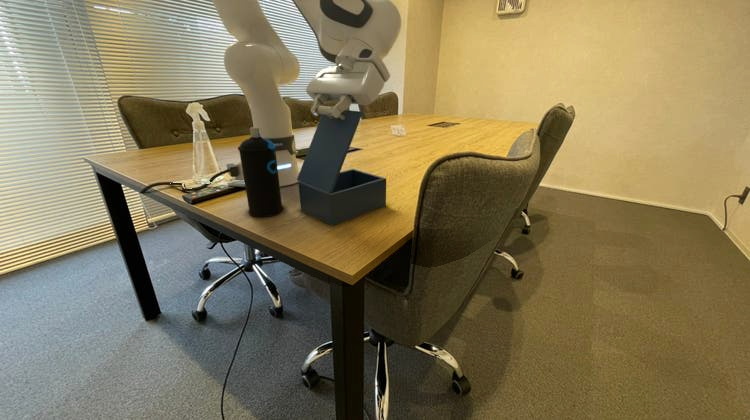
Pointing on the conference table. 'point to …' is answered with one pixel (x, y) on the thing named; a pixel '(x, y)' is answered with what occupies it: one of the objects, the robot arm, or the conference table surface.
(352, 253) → the conference table surface
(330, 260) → the conference table surface
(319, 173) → the lid
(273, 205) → the aerosol can
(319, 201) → the box
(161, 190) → the conference table surface
